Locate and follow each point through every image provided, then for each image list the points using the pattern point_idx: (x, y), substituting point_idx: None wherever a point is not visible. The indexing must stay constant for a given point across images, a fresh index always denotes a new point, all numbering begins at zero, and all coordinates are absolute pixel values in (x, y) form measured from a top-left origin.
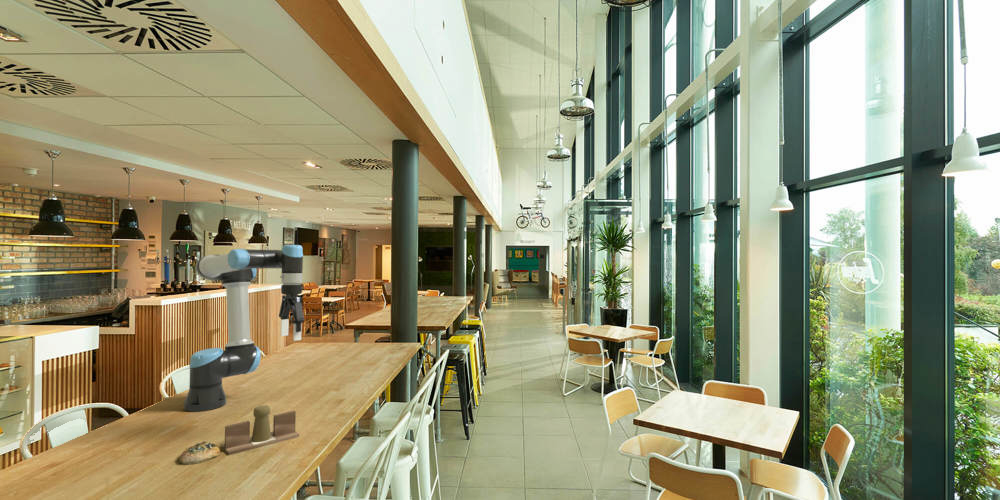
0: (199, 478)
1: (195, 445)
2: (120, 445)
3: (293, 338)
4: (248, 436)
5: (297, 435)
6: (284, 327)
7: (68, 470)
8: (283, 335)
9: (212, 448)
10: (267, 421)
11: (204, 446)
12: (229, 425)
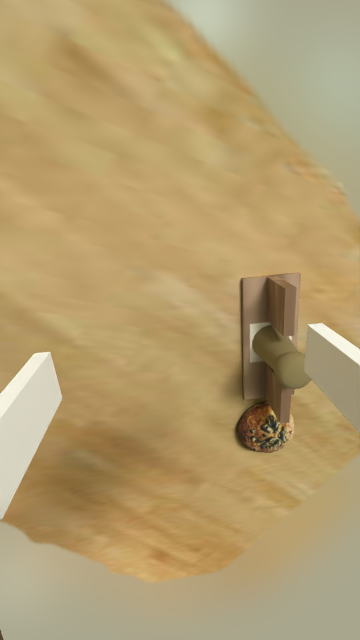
0: (346, 429)
1: (263, 443)
2: (130, 507)
3: (312, 378)
4: None
5: (299, 277)
6: (30, 423)
7: (194, 541)
8: (57, 386)
9: None
10: (296, 349)
11: (278, 433)
12: (282, 417)
